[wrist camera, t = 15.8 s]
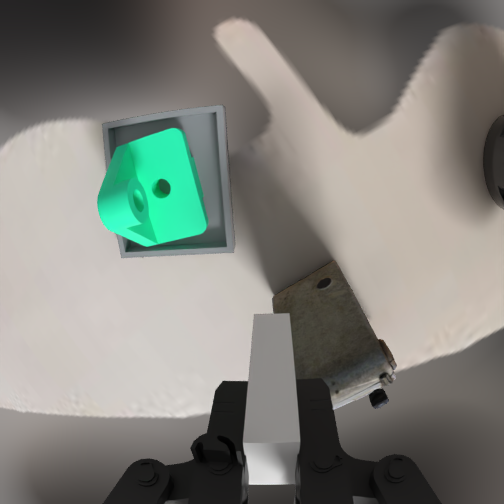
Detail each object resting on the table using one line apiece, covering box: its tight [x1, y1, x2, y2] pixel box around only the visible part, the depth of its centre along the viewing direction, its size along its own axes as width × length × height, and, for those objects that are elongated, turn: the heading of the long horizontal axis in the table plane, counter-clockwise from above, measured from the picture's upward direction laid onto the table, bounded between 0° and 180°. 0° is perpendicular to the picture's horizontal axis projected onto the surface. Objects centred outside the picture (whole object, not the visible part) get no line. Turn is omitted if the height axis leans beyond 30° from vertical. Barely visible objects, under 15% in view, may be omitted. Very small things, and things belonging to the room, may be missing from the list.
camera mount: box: [97, 128, 209, 247], centre depth 30 cm, size 12×8×10 cm, turn 13°
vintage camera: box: [272, 261, 397, 410], centre depth 33 cm, size 10×16×20 cm, turn 34°
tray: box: [102, 105, 235, 258], centre depth 34 cm, size 14×16×2 cm
